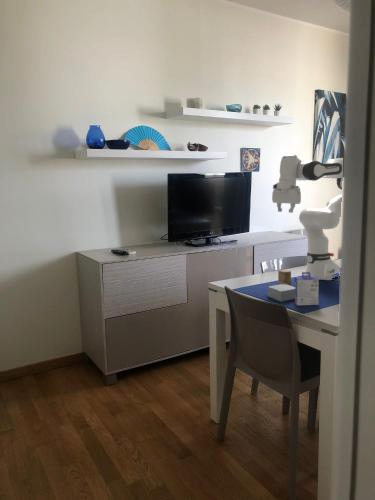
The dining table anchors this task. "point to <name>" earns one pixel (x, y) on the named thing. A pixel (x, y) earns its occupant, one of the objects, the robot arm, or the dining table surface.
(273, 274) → the dining table surface
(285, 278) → the brown cylinder
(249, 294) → the dining table surface
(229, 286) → the dining table surface
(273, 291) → the white square block
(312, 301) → the ink cartridge box
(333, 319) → the dining table surface
